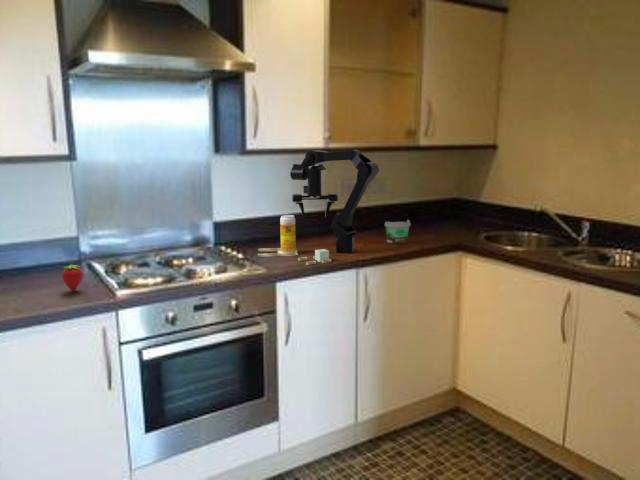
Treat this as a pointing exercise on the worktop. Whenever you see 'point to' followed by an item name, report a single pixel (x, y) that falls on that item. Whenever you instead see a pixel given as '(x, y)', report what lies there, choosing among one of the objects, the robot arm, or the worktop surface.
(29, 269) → the worktop surface
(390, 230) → the food container
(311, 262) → the broken lane
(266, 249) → the lane
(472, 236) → the worktop surface
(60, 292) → the worktop surface
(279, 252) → the mat
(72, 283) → the strawberry
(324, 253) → the sage cube
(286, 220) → the yellow tall cylinder
